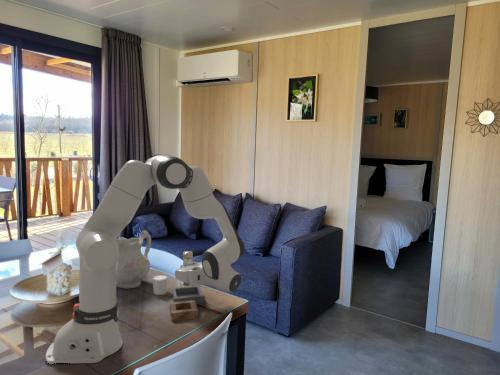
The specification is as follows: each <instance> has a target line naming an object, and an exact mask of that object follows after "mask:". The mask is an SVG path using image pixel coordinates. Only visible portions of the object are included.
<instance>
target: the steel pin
mask: <svg viewBox="0 0 500 375" xmlns="http://www.w3.org/2000/svg"><path fill="white" fill-rule="evenodd" d="M193 253H194V252H193V251H192V250H191V251H190V250H185V251H183V252H182V265H186V266H189V265H193V262H194V259H193V258H194V256H193V255H194V254H193ZM182 284H183V286H184V287H190V285H189V283H184V282H182Z"/></svg>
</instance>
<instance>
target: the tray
mask: <svg viewBox="0 0 500 375" xmlns="http://www.w3.org/2000/svg"><path fill="white" fill-rule="evenodd" d="M171 294H172V295H171V296H172V302H180V301H190V300H195V303H196V306H198V305H204V304H205V303H204V301H205V300H204V293H203V291H202V289H201V285H198V286H180V287H172V288H171Z"/></svg>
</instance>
